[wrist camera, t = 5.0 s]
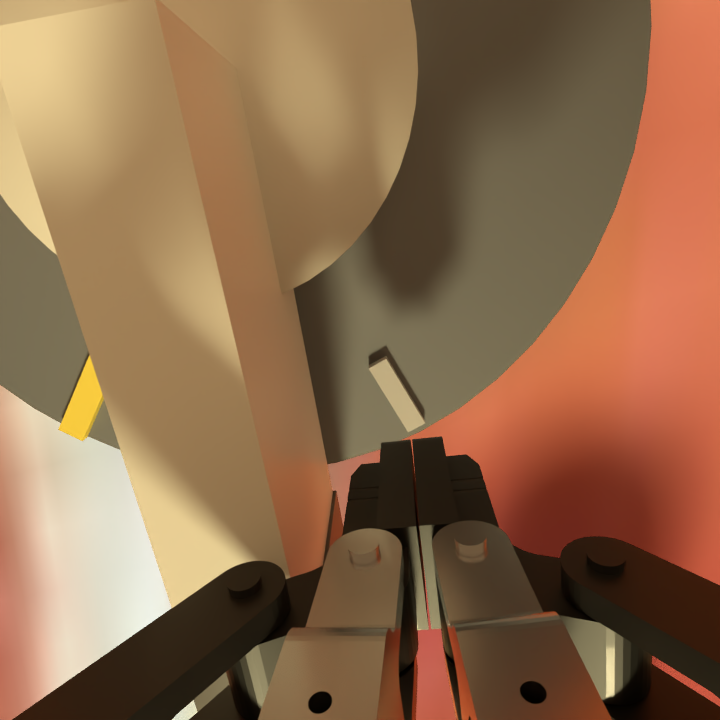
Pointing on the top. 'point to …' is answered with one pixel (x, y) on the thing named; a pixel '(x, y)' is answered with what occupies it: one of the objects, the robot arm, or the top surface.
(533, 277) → the dial base
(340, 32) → the dial lever
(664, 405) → the top surface
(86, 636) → the top surface
